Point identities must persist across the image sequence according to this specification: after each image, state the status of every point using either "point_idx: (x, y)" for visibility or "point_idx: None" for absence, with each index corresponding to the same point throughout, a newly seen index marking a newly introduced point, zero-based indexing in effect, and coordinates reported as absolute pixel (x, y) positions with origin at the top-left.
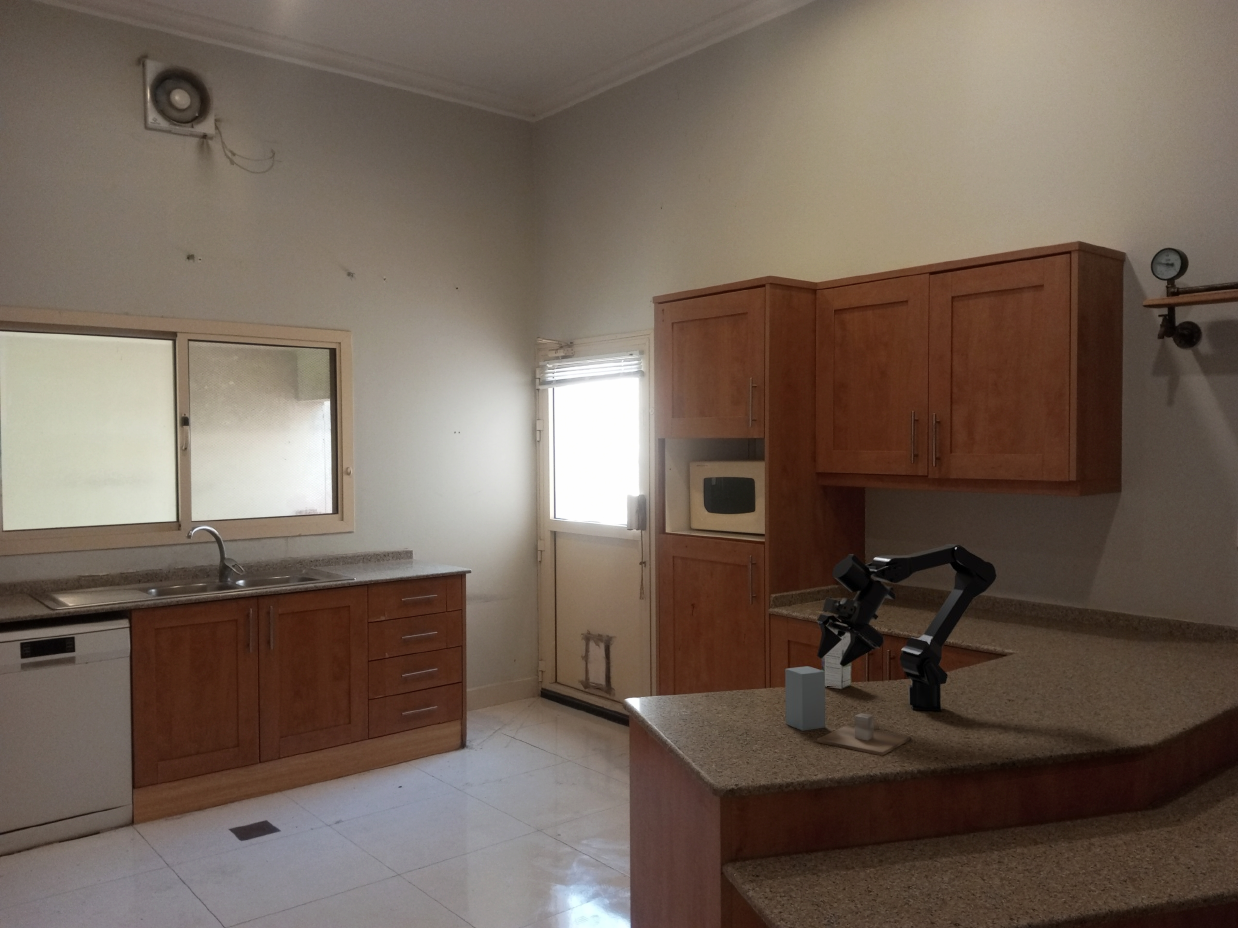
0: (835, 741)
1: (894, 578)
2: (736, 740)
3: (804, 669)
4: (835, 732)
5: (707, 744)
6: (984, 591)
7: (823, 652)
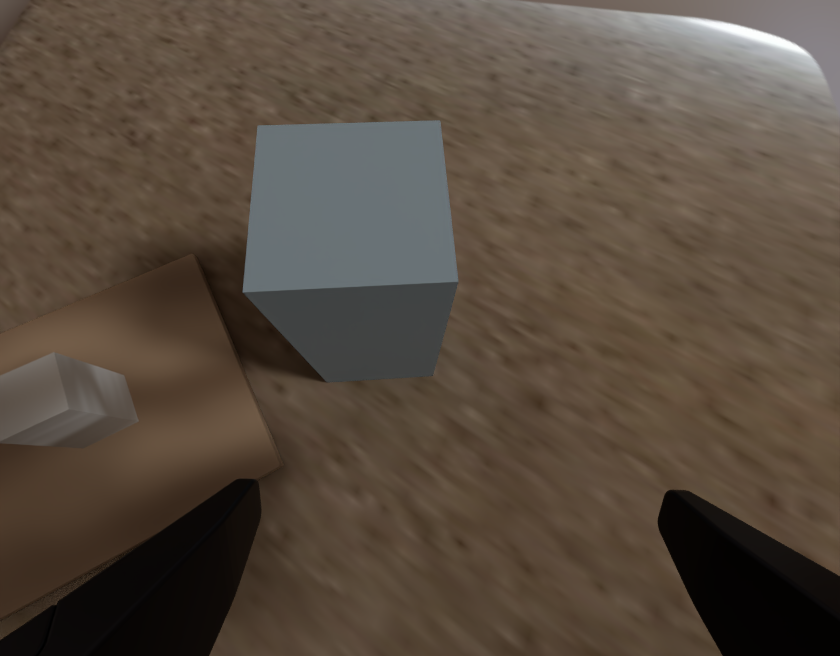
0: (137, 291)
1: None
2: (333, 91)
3: (369, 206)
4: (218, 352)
5: (337, 30)
6: None
7: (706, 577)
